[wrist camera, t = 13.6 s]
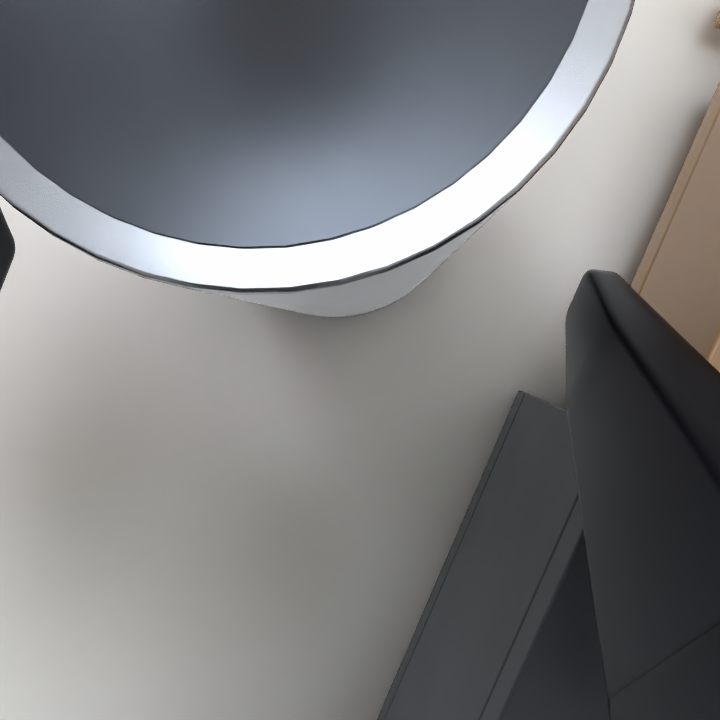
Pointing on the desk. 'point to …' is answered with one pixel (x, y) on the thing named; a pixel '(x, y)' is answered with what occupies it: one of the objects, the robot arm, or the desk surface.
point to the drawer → (690, 245)
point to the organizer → (511, 594)
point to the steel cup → (288, 133)
